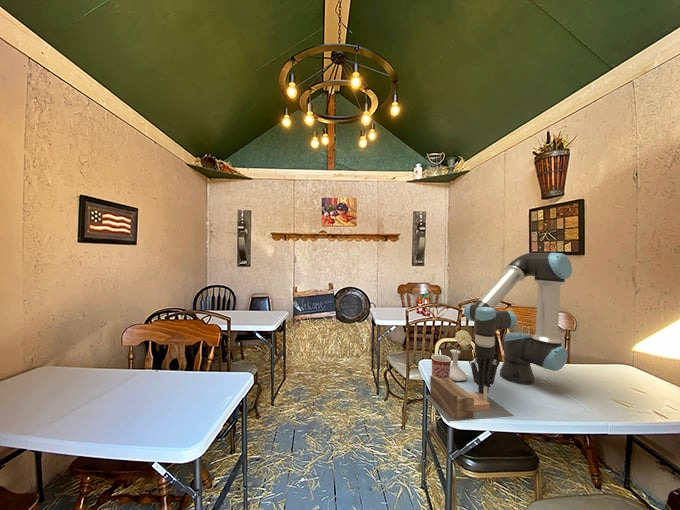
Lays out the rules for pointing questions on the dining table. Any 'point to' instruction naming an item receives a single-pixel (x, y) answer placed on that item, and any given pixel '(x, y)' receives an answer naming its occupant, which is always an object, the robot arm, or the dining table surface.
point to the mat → (492, 413)
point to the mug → (441, 366)
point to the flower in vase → (463, 340)
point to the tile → (479, 402)
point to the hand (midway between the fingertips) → (483, 400)
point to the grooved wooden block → (451, 398)
